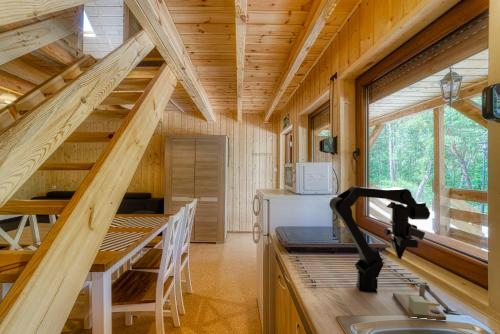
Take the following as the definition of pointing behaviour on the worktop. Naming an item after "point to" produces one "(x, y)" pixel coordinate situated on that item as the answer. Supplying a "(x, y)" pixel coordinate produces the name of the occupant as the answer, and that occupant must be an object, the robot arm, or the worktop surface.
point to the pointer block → (420, 305)
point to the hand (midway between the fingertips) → (399, 258)
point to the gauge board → (432, 314)
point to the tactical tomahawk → (440, 301)
